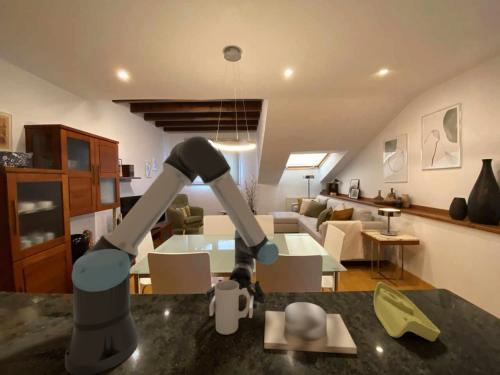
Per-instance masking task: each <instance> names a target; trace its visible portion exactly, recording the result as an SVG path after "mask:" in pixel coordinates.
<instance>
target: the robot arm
mask: <svg viewBox="0 0 500 375" xmlns="http://www.w3.org/2000/svg"><path fill="white" fill-rule="evenodd" d="M169 153H170V154H169V155H168V156H167V158H166V159H165V160H164V161H163V162H162V171H161V172H160V174H159V175H158V176H157V178H155V180H154V181H153V182H152V184H150V185H149V187H148V189H146V191H145V192H144V193H143V194H142V196H141V197H140V198H139V199H138V200H137V201H136V203H135V204H134V205H133V206H132V208H131V209H130V210H129V211H128V213H127V214H126V215H125V216H124V217H123V218H122V220H121V221H120V222H119V223H118V224H117V225H116V227H115V228H114V229H113V230H112V231H110V232H107V233H103V234H102V236H101V237H100V238H99V239H98V240H97V241H96V242H95V244H94V245H93V246H91V247H90V248H89V249H87V250H86V251H85V252H84V253H83V255H82V256H80V257H79V258H77V259H76V261H75V262H74V264H73V265H72V272H71V281H72V288H73V289H72V290H73V291H72V294H73V298H72V299H73V330H72V333H71V336H70V338H69V342H68V344H67V348H66V350H65V355H64V367H65V370H66V371H67V372H68V373H69V374H70V375H98V374H100V373H104V372H105V371H108V370H111V369H114V368H115V367H116V366H118V365H120V364H122V363H123V362H124V361H126V360H128V358H130V357H131V356H132V355H133V354H134V353H135V351H136V350H137V347H138V345H139V341H140V340H139V338H140V337H139V336H140V335H139V329H138V327H137V326H136V323H135V320H134V318H133V315H132V312H131V269H132V268H131V266H132V265H131V264H132V263H134V261H135V259H136V258H137V257H138V255H139V245H141V243H142V242H143V241H144V239H145V238H146V237H147V236H148V234H149V233H150V231H151V230H152V229H153V228H154V226H155V225H156V224H157V223H158V221H159V220H160V218H161V217H162V216H163V215H164V213H165V212H166V211H167V209H168V208H169V207H170V206H171V204H172V203H173V202H174V200H175V199H176V198H177V196H178V195H179V194H180V193H181V191H182V190H183V189H184V187H186V186H191V185H193V184H194V182H195V180H196V179H198V177H199V178H200V179H201V182H202V183H203V184H204V185H206V186H207V185H208V186H209V187H210V189H211V190H212V192H213V194H214V195H215V198H217V200H218V203H220V205H221V207H222V208H223V210H224V211H225V213H226V214H227V216H228V218H229V219H230V221H231V223H232V224H233V226H234V228H235V230H234V266H233V269H232V271H231V273H230V276H229V279H228V280H232V281H236V282H238V283H239V289H240V290H241V289H242V288H247V291H248V293H249V295H250V305H249V311H248V318H250V319H252V318H253V313H254V309H255V310H257V309H258V304H259V303H260V304H264V303H265V293H264V291H263V289H262V288H261V285H260V281H259V280H256V281H255V282H252V278H253V274H254V273H253V272H254V269H255V261H254V260H256V261H258V262H259V264H260V263H261V264H265V265H266V266H267V265H272V264H274V263H275V262H276V261H277V260H278V257H279V255H280V249H279V247H278V245H277V244H276V243H274V242H273V241H270V240H269V239H268V237H267V235H266V234H265V231H264V230H263V228H262V227H261V225H260V223H259V221H258V220H257V218H256V217H255V215H254V212H253V211H252V209H251V208H250V206H249V204H248V202H247V200H246V198H245V197H244V195H243V193H242V192H241V190H240V188H239V186H238V184H237V183H236V180H234V178H233V176H232V174H231V171H232V170H231V169H232V167H231V166H230V164H229V162H228V161H227V159H226V158H225V156H224V154H223V153H222V151H221V150H220V149H219V147H218V146H217V145H216V144H215V143H214V142H213V141H212V140H210V139H209V138H208V137H205V136H200V135H196V136H192V137H189V138H188V139H187V138H186V139H185V140H184V141H180V142H179V143H177V144H176V145H175V146H174V147H173V148H172V149H171V151H170V152H169ZM220 281H223V279H219V280H218V281H217V282H220ZM206 301H207V302H208V307H209V317H212V316H213V315H214V312H215V284H214V285H213V286H212V287H211V288H209V289H208V290H207V291H206Z"/></svg>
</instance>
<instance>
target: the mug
mask: <svg viewBox="0 0 500 375" xmlns="http://www.w3.org/2000/svg"><path fill="white" fill-rule="evenodd" d="M214 285H215V311H214V312H215V316H214V317H215V330H216V332H217V333H219V334H221V335H230V334H231V335H232V334H234V333H236V331H238V328H239V320H240V319H241V318H247V316H248V314H249V305H250V295H249V293H248V291H247V288H242V289H241V290H240V289H239V283H238V282H236V281H232V280H229V279H225V280H224V279H222V281H220V282H218V281H217V282H216V283H215V284H214ZM241 295H243V296H245V298H246V305H245V306H246V307H245V308H244V309H243V310H241V311H240V310H239V307H240V306H239V300H240V299H239V298H240V296H241Z"/></svg>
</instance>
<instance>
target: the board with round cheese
mask: <svg viewBox="0 0 500 375" xmlns="http://www.w3.org/2000/svg"><path fill="white" fill-rule="evenodd" d="M264 316H265V317H264V318H265V320H264V322H265V323H264V341H263V342H264V344H263V346H264V348H263V349H269V350H270V349H271V350H285V351H287V350H288V351H302V352H317V353H318V352H319V353H323V352H324V353H337V354H353V355H354V354H355V355H356V354H358V352H357V351H358V350H357V345H356V344H355V342H354V340H353V338H352V336H351V334H350V331H349V330H348V328H347V326H346V324H345V322H344V320H343V318H342V316H341V314H339V313H327V312H326V311H325V310H324V308H323V307H321V306H319V305H318V304H314V303H311V302H305V301H297V302H293V303H292V302H291V303H290V304H288V305H287V306H286V307H285V309H284V311H277V310H276V311H273V310H272V311H271V310H265V315H264Z"/></svg>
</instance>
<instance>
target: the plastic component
mask: <svg viewBox="0 0 500 375" xmlns="http://www.w3.org/2000/svg"><path fill="white" fill-rule="evenodd" d="M373 309H374V313H375V315H376V318H378V320H379V322H380V323H381V324H382V327H383V328H384V330H385V331H386V332H387V334H388V335H389V336H391V337H392V338H396V339H397V338H400V337H402V336H403V335H404V334H405V333H406V332H411V333H412V334H413V333H414V334H415V335H417V336H419V337H421V338H424V339H425V340H428V341H429V342H435V341H436V340H437V338H438V336H439V335H440V334H441V330H440V329H439V328H438V327H437V326H436V325H435V324H434V323H433V322H432V321H431V320H430V319H429V318H428V317H427V315H425V314H424V313H423V311H421V310H420V309H419V307H417V306H416V304H414V303H413V302H412V300H410V299H409V298H408V297H407V296H406V295H404V294H403V293H401V291H398V290H397V289H395V288H394V287H392V286H390V285H388V284H387V283H384V282H382V281H379V282H377V283H376V286H375V289H374V292H373Z"/></svg>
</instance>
